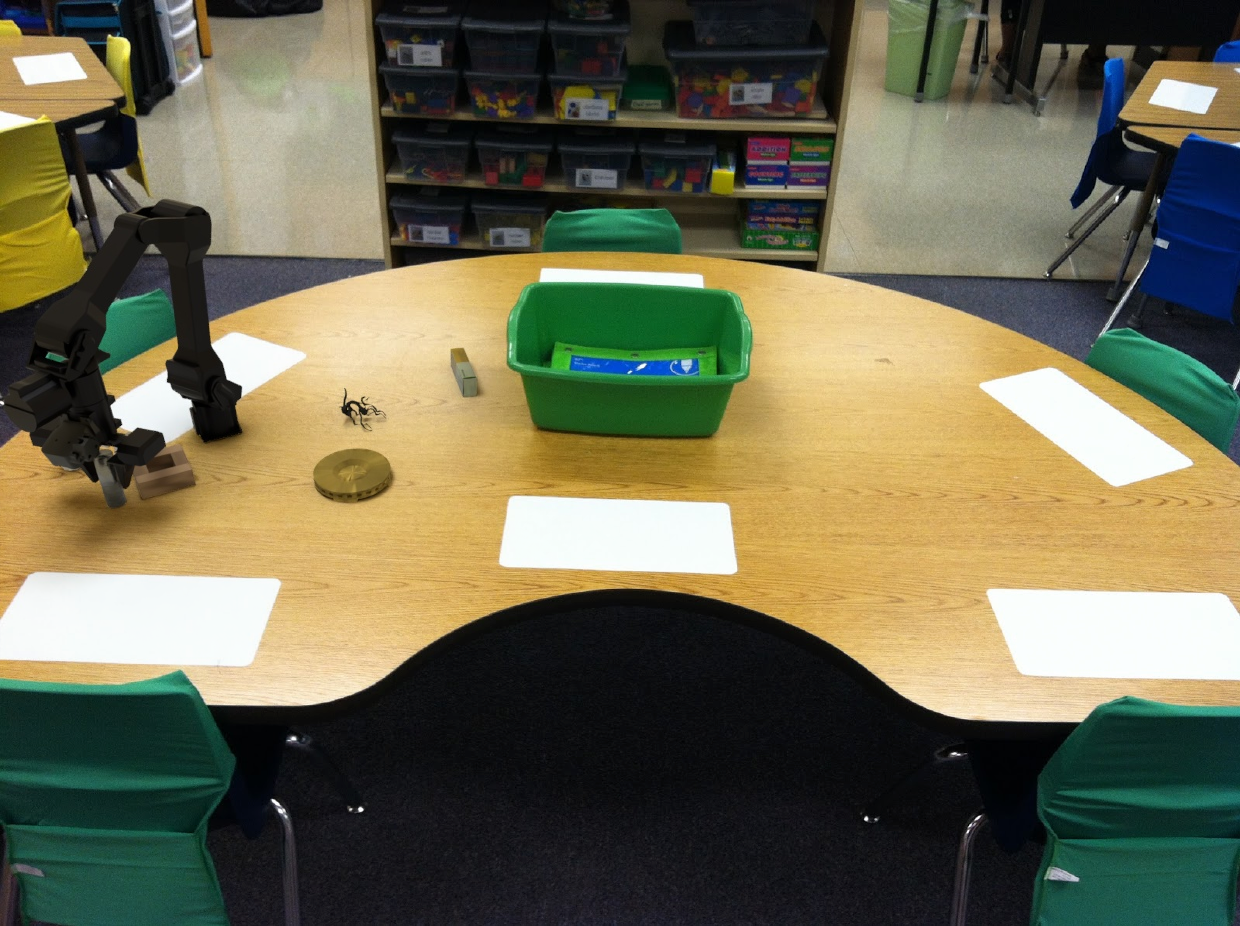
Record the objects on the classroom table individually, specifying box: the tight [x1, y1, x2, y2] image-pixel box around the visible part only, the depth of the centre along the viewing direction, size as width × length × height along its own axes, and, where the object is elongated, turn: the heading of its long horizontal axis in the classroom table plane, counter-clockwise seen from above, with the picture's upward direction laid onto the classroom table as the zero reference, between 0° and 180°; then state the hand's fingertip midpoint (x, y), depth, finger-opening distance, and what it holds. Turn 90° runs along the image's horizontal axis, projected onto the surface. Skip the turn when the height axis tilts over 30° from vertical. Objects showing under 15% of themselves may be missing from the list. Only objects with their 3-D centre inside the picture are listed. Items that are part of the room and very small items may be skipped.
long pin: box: [93, 448, 128, 509], centre depth 157 cm, size 3×3×9 cm
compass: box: [312, 448, 392, 503], centre depth 166 cm, size 12×12×2 cm
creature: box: [339, 387, 387, 432], centre depth 179 cm, size 8×5×8 cm
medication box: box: [450, 347, 478, 398], centre depth 192 cm, size 12×3×4 cm, turn 19°
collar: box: [132, 443, 197, 500], centre depth 164 cm, size 8×8×3 cm
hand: (111, 484), depth 157 cm, fingers open, 5 cm apart
